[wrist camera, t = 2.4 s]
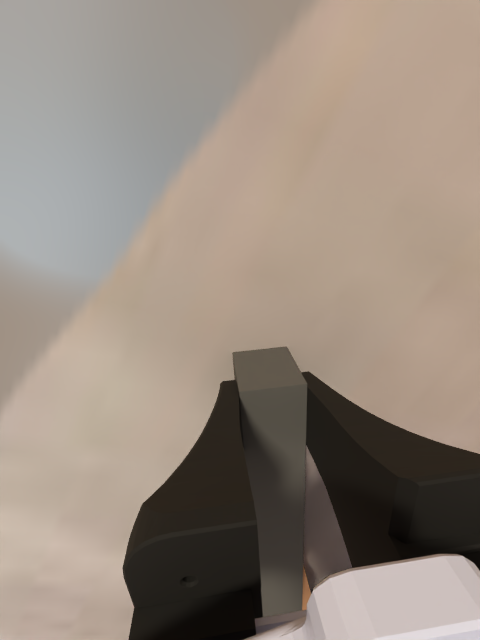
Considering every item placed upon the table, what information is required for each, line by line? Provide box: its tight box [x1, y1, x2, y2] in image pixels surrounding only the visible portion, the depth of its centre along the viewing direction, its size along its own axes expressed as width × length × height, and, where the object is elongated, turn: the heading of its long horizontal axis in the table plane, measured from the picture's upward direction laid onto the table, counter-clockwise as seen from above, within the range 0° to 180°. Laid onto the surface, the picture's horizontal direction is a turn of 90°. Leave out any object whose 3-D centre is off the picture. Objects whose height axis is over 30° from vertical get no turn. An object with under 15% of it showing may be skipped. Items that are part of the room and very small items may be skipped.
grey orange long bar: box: [233, 347, 311, 617], centre depth 16 cm, size 4×19×3 cm, turn 4°
